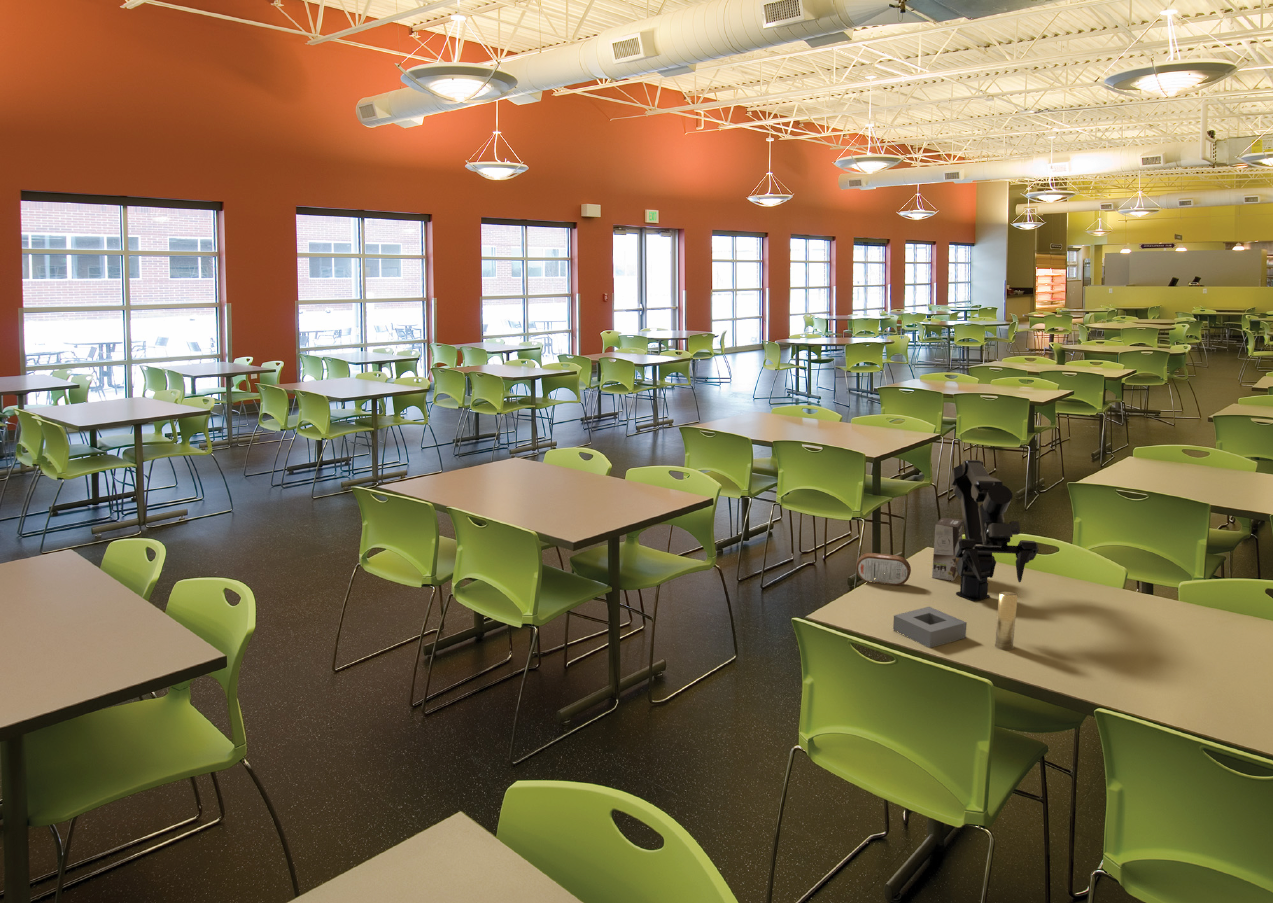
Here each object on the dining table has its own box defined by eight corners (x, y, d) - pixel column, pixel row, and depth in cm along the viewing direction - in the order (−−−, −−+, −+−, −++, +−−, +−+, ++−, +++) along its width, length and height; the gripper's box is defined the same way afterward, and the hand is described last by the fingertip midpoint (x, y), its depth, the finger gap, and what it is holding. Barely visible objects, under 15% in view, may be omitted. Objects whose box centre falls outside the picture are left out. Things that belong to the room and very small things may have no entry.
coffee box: (954, 581, 261) (957, 527, 258) (931, 577, 264) (934, 524, 261) (960, 572, 269) (964, 519, 265) (938, 568, 272) (941, 516, 268)
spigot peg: (991, 645, 217) (995, 593, 215) (1002, 641, 219) (1007, 590, 217) (1005, 651, 214) (1009, 598, 211) (1016, 647, 216) (1021, 595, 213)
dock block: (893, 630, 226) (893, 615, 226) (928, 621, 232) (929, 606, 231) (929, 647, 216) (930, 632, 215) (965, 637, 222) (966, 622, 221)
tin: (910, 584, 259) (911, 555, 257) (909, 587, 256) (911, 559, 254) (855, 578, 264) (857, 550, 262) (854, 582, 261) (856, 554, 259)
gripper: (960, 507, 225) (967, 564, 216) (1039, 509, 222) (1049, 567, 214) (951, 528, 234) (957, 584, 226) (1028, 531, 231) (1037, 587, 223)
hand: (1000, 580), depth 222 cm, fingers open, 9 cm apart
